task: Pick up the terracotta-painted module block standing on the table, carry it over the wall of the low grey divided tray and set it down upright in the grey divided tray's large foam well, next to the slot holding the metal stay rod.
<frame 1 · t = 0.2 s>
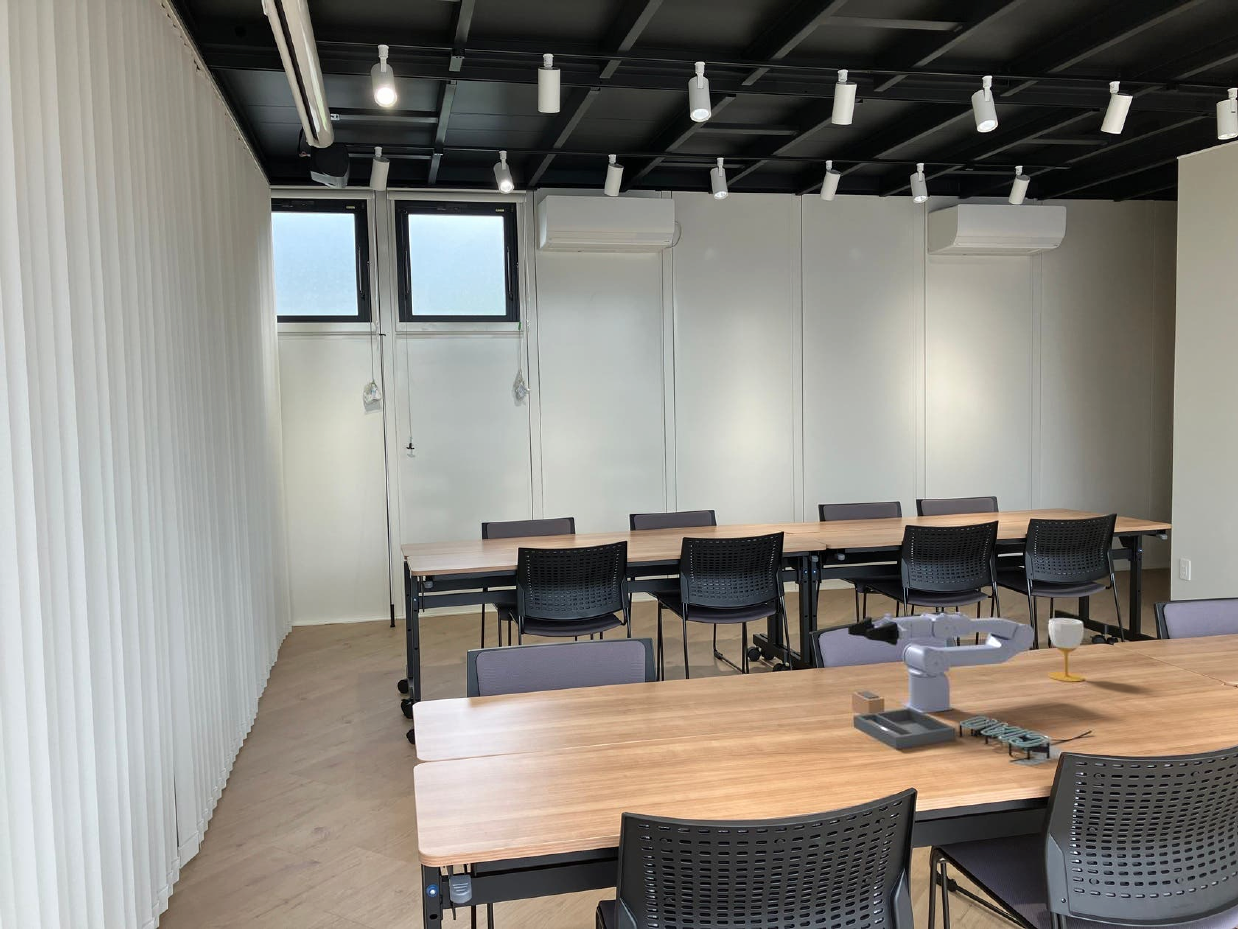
hand: (858, 632, 209), 21 cm above the table, tool horizontal, fingers open, 7 cm apart
stay rod: (885, 736, 196), resting on grey divided tray
cup: (1066, 678, 240), on the table
neon sign: (1028, 742, 193), on the table
module block: (868, 715, 212), on the table
grey divided tray: (903, 734, 197), on the table
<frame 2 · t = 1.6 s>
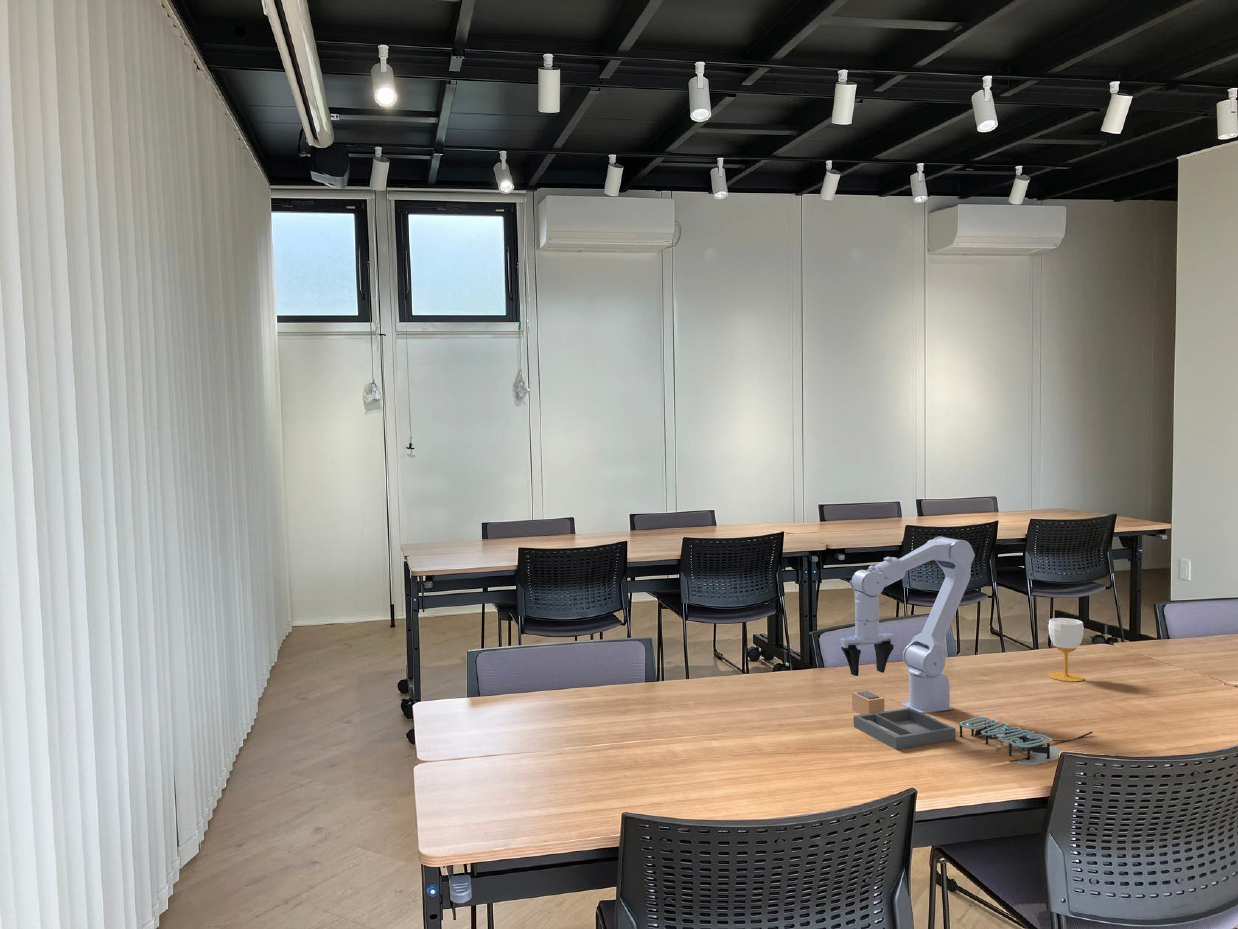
hand: (867, 673, 211), 10 cm above the table, tool pointing down, fingers open, 7 cm apart
stay rod: (885, 735, 196), resting on grey divided tray, tilted 19°
everything else where it was.
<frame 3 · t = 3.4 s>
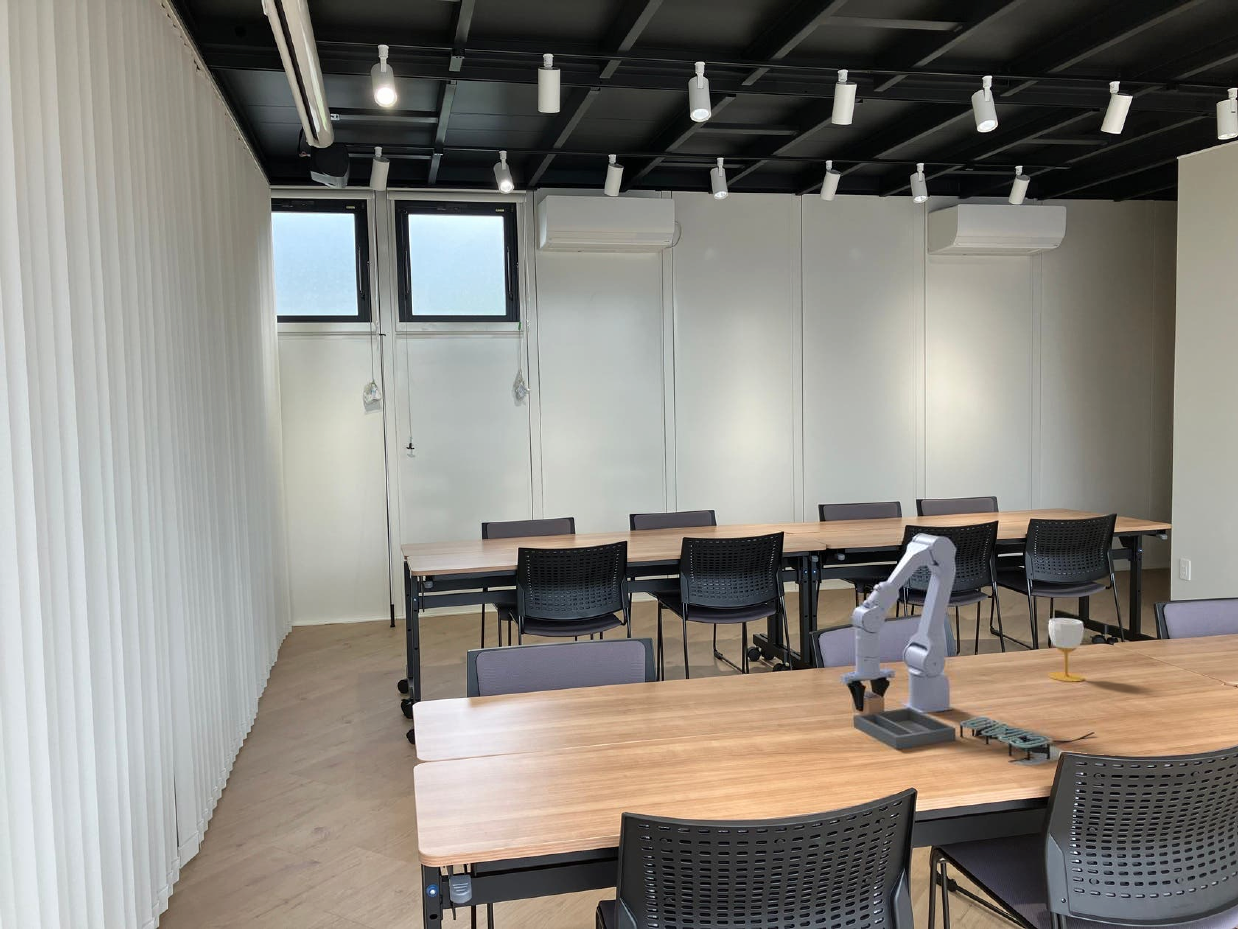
hand: (868, 709, 212), 1 cm above the table, tool pointing down, fingers closed on module block, 4 cm apart
stay rod: (884, 734, 195), point 1 cm above the table, tilted 54°, touching grey divided tray
module block: (868, 714, 212), on the table, touching gripper
everything else where it was.
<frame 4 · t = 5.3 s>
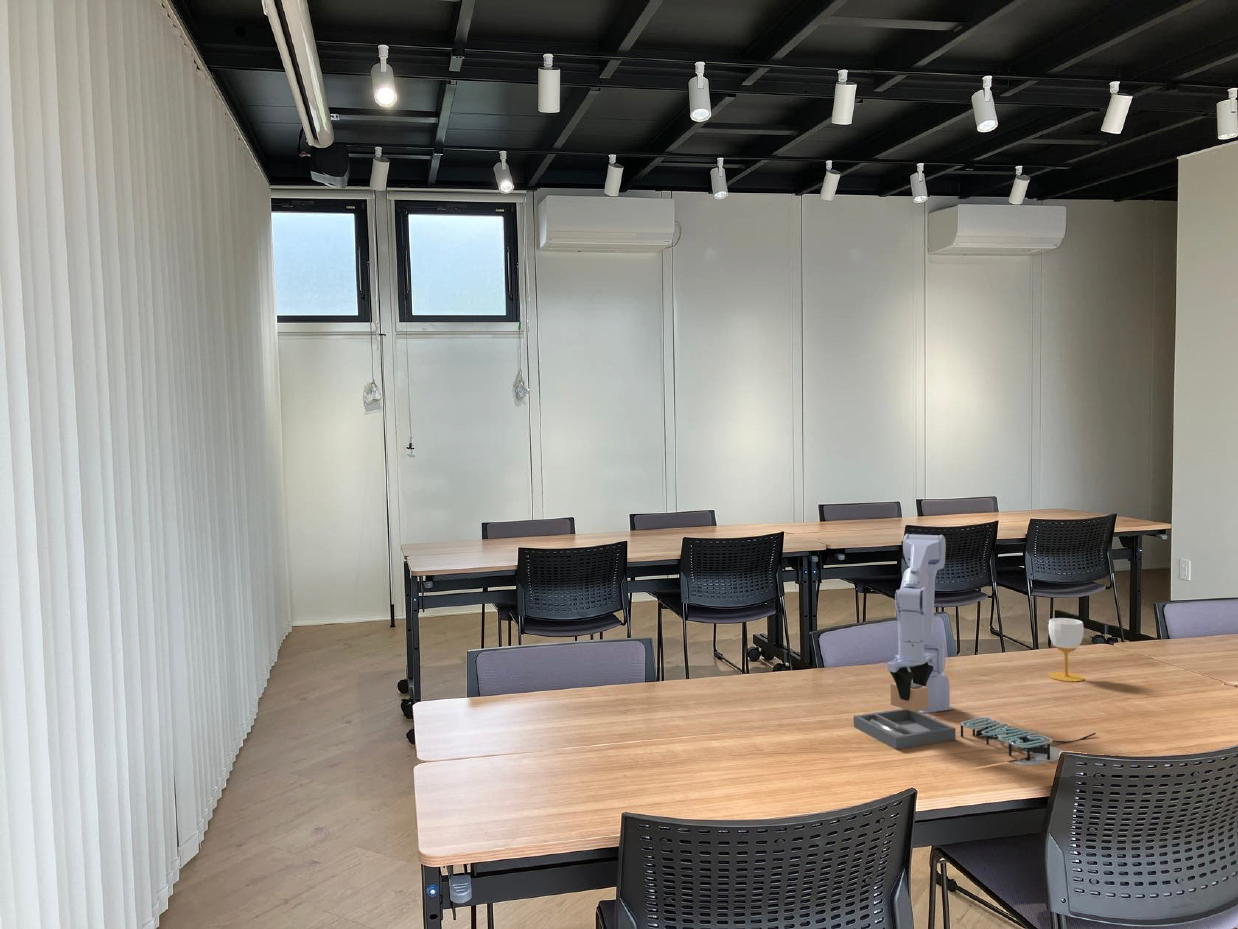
hand: (911, 697, 198), 8 cm above the table, tool pointing down, fingers closed on module block, 4 cm apart
stay rod: (885, 734, 196), point 1 cm above the table, tilted 44°, touching grey divided tray
module block: (909, 706, 198), point 6 cm above the table, touching gripper
everything else where it was.
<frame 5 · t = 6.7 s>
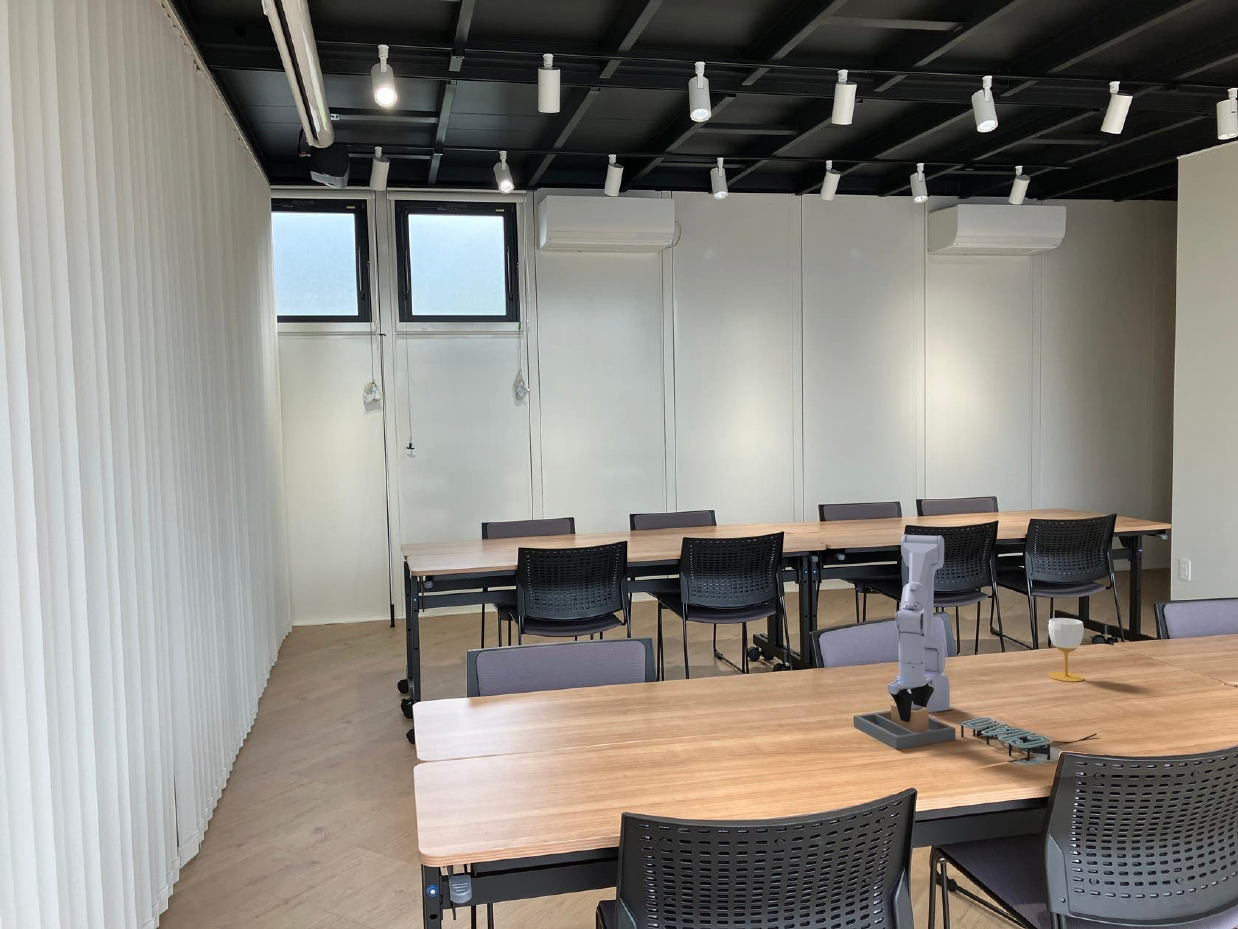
hand: (912, 719, 198), 3 cm above the table, tool pointing down, fingers closed on module block, 4 cm apart
stay rod: (884, 734, 195), point 1 cm above the table, tilted 56°, touching grey divided tray
module block: (909, 728, 199), point 1 cm above the table, touching gripper
everything else where it was.
when the fingers open (3 cm above the table, at t = 7.1 s): module block stays where it is, resting on grey divided tray.
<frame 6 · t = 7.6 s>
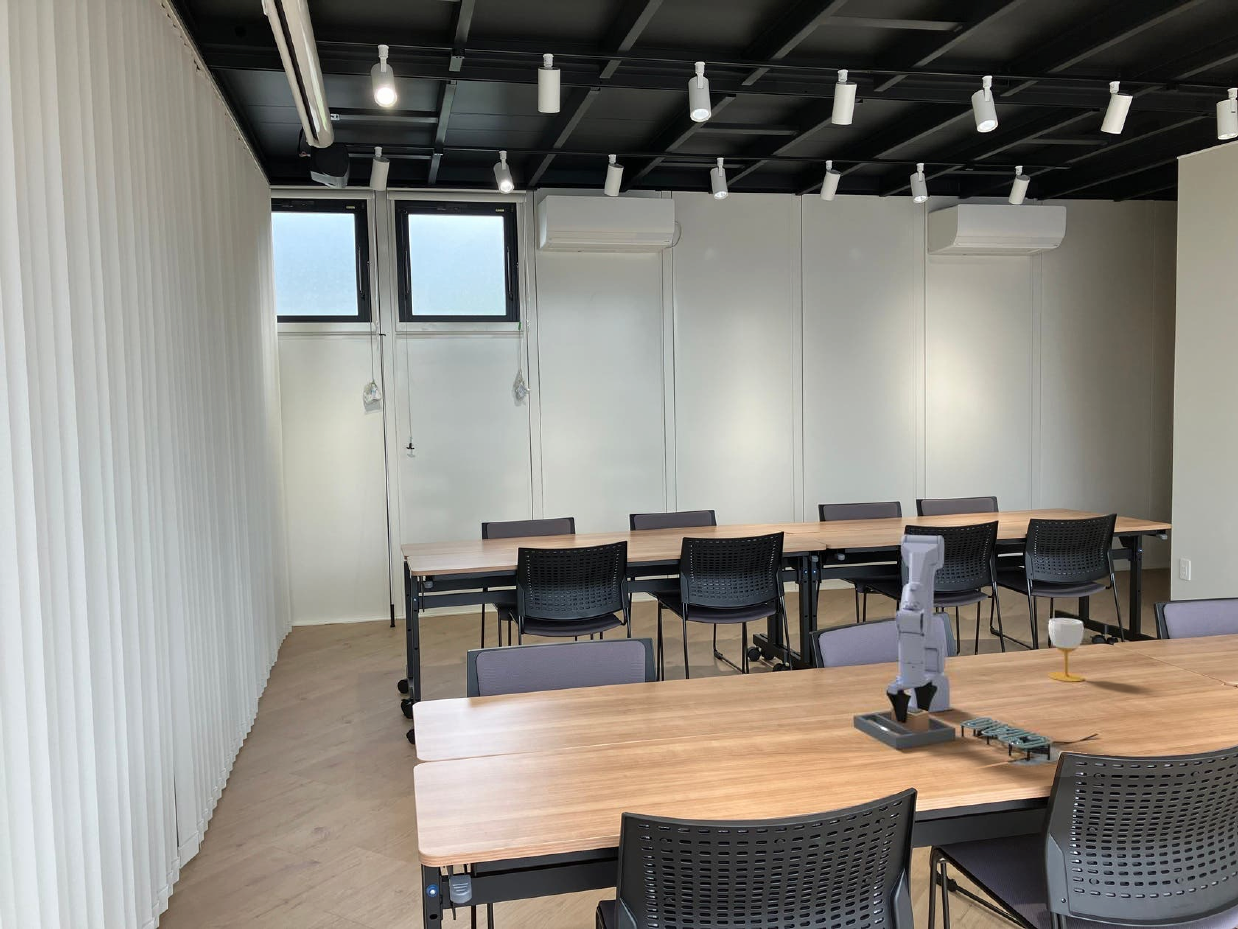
hand: (912, 718, 198), 3 cm above the table, tool pointing down, fingers open, 7 cm apart
stay rod: (885, 736, 196), resting on grey divided tray
module block: (910, 731, 198), resting on grey divided tray
everything else where it was.
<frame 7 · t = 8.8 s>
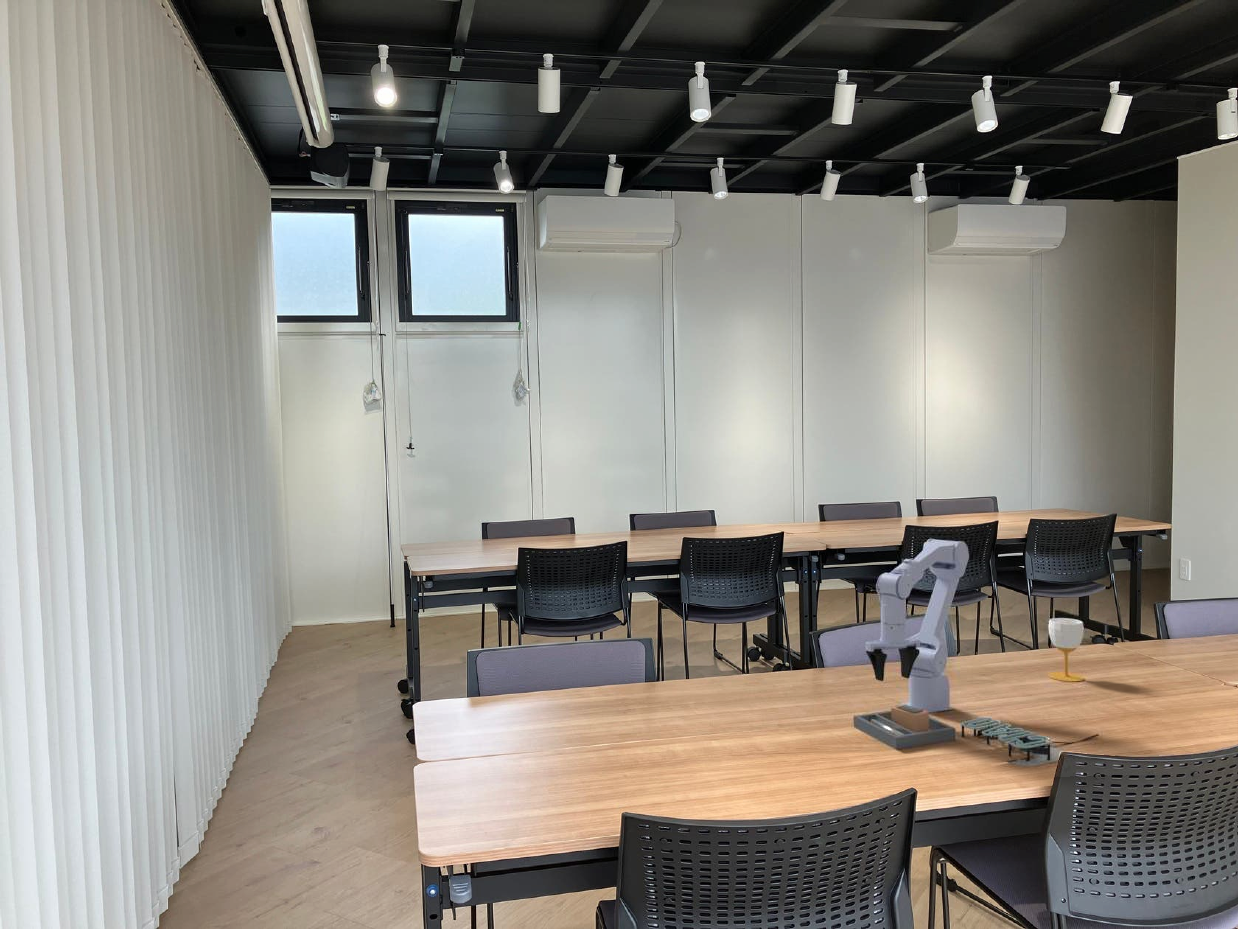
hand: (892, 678, 207), 10 cm above the table, tool pointing down, fingers open, 7 cm apart
stay rod: (885, 733, 196), point 1 cm above the table, tilted 62°, touching grey divided tray
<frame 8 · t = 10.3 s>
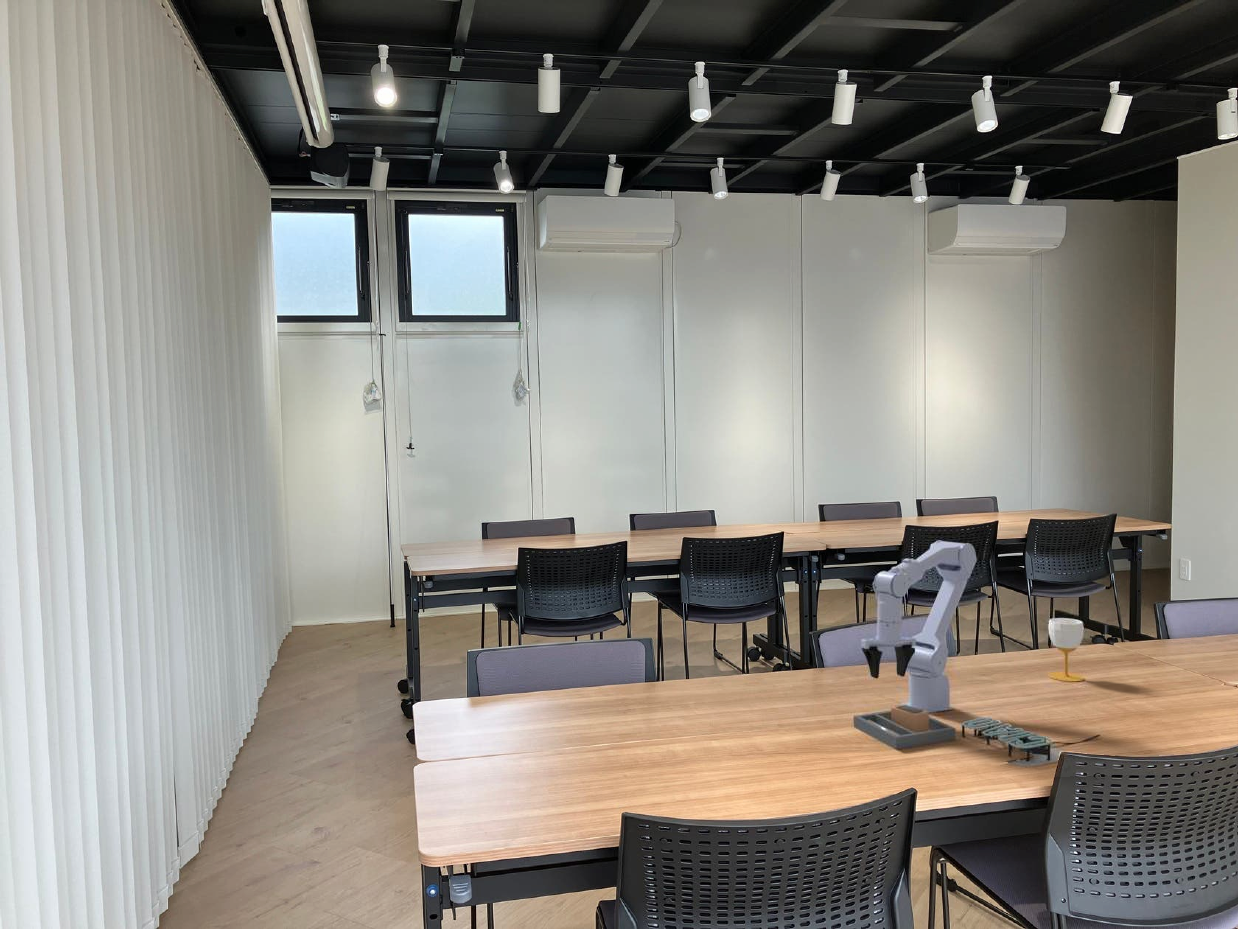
hand: (887, 676, 208), 10 cm above the table, tool pointing down, fingers open, 7 cm apart
stay rod: (885, 735, 196), resting on grey divided tray, tilted 15°
at the end: module block inside the target area on the grey divided tray (0.6 cm from its centre), point 0.4 cm above the grey divided tray's base; module block tilted 0°; the gripper is holding nothing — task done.
